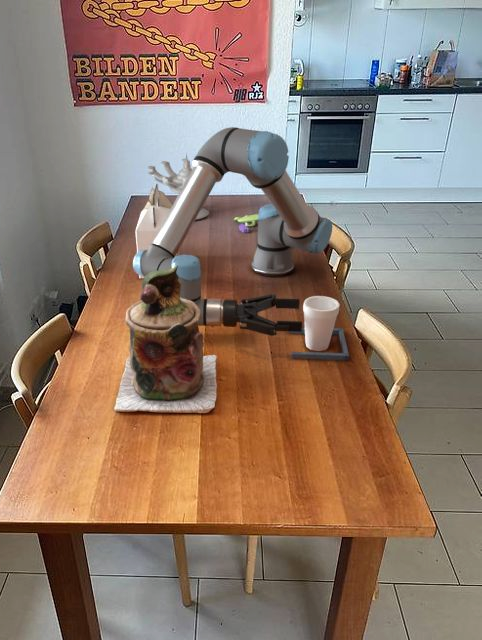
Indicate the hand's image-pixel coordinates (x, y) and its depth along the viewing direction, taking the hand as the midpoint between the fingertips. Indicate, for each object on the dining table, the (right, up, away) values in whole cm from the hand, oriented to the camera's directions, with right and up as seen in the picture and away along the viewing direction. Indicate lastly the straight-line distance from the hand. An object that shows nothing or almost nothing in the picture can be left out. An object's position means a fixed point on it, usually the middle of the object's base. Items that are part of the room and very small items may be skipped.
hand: (300, 314), depth 158 cm
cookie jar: (-35, -19, -11) cm, 42 cm away
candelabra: (-33, +56, +105) cm, 123 cm away
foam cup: (+5, -8, +5) cm, 11 cm away
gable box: (-42, +23, +55) cm, 73 cm away
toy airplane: (0, +46, +89) cm, 100 cm away
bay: (+6, -8, +5) cm, 11 cm away
